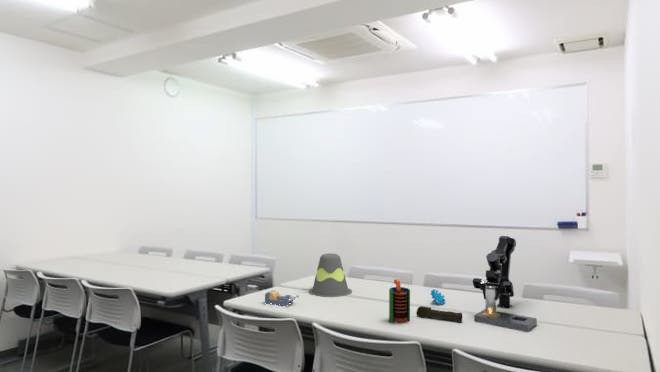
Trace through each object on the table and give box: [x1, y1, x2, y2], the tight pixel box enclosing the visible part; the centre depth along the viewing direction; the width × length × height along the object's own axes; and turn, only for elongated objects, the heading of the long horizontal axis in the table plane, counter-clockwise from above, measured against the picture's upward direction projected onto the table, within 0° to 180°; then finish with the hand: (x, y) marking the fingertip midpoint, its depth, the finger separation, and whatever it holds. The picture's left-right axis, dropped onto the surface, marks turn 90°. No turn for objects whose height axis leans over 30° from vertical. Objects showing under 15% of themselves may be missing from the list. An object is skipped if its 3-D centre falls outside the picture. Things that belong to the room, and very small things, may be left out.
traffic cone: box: [308, 253, 353, 298], centre depth 275 cm, size 28×28×24 cm
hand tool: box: [416, 305, 463, 324], centre depth 216 cm, size 23×5×6 cm, turn 60°
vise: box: [264, 289, 300, 307], centre depth 246 cm, size 18×10×7 cm, turn 66°
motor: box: [388, 278, 411, 324], centre depth 213 cm, size 10×9×20 cm
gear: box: [430, 289, 446, 306], centre depth 246 cm, size 11×6×10 cm
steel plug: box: [484, 285, 497, 314], centre depth 212 cm, size 5×5×13 cm
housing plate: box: [473, 309, 538, 333], centre depth 208 cm, size 14×25×3 cm, turn 49°
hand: (490, 299), depth 211 cm, fingers closed on steel plug, 5 cm apart
